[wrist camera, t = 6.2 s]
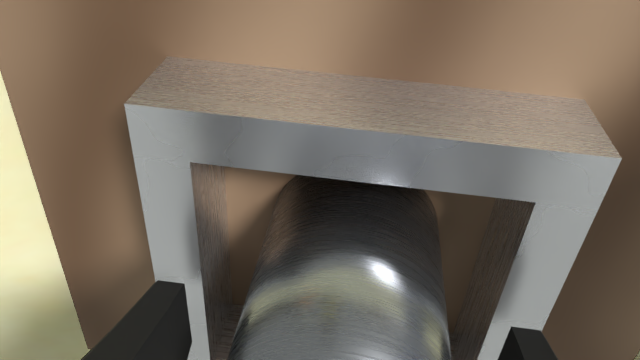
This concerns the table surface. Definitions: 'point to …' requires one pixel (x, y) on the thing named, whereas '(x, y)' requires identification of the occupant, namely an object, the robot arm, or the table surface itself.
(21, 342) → the table surface
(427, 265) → the cylinder
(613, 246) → the walnut base plate
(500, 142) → the square metal frame
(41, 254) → the table surface
